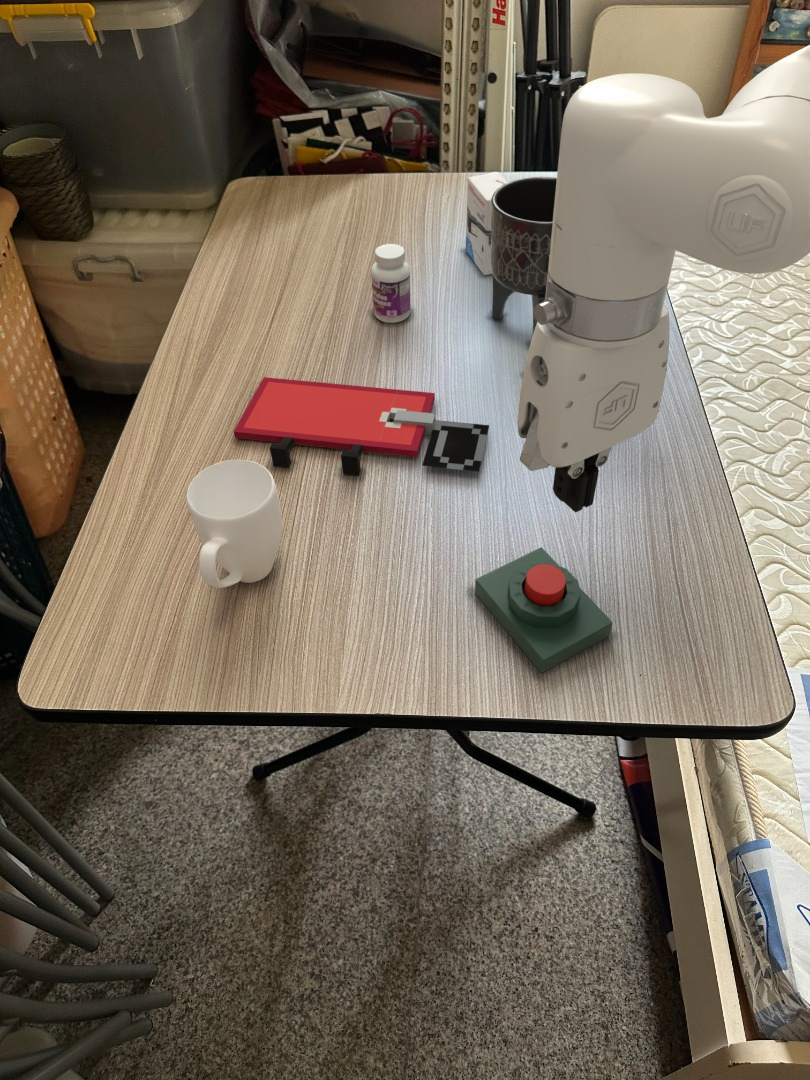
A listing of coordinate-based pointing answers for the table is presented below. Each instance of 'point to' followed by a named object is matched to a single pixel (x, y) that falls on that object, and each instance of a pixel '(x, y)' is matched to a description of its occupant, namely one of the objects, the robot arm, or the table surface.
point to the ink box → (481, 218)
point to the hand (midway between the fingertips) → (572, 498)
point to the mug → (235, 521)
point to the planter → (521, 240)
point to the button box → (542, 613)
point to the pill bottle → (391, 284)
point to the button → (545, 585)
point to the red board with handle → (357, 424)
